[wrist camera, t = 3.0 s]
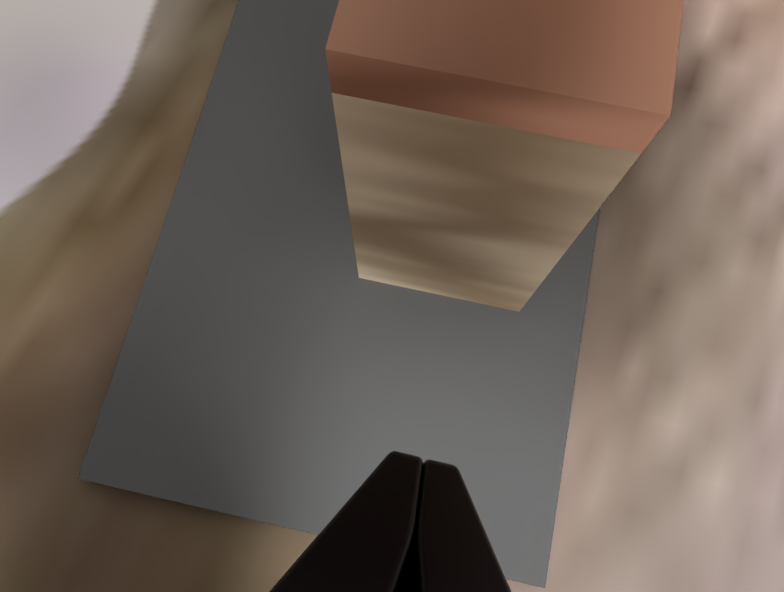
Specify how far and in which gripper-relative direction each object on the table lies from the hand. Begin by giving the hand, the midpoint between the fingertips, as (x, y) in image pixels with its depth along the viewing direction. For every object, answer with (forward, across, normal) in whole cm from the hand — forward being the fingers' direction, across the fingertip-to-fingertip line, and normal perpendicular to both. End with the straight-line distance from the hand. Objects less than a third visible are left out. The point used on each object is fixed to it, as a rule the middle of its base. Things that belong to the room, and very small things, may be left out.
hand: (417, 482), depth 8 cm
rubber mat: (+12, +2, +1) cm, 13 cm away
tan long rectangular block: (+12, 0, +1) cm, 12 cm away
